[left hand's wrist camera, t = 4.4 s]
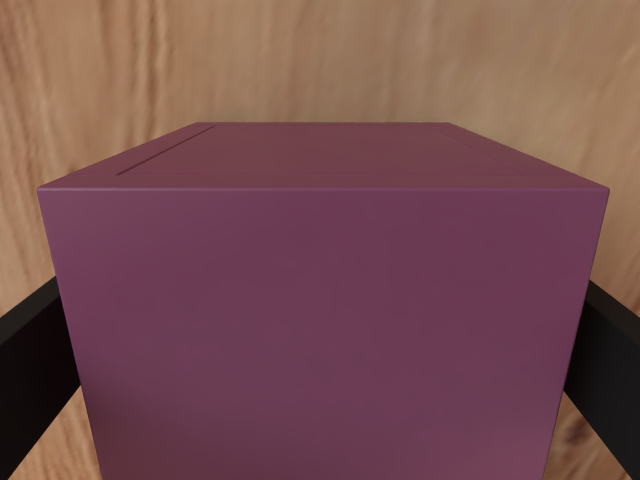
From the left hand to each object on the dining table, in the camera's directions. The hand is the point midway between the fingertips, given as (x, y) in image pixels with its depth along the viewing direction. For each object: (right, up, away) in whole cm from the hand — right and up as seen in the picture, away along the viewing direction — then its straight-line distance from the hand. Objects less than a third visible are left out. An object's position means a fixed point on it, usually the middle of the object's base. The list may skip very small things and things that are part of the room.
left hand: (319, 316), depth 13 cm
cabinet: (0, -1, +8) cm, 8 cm away
